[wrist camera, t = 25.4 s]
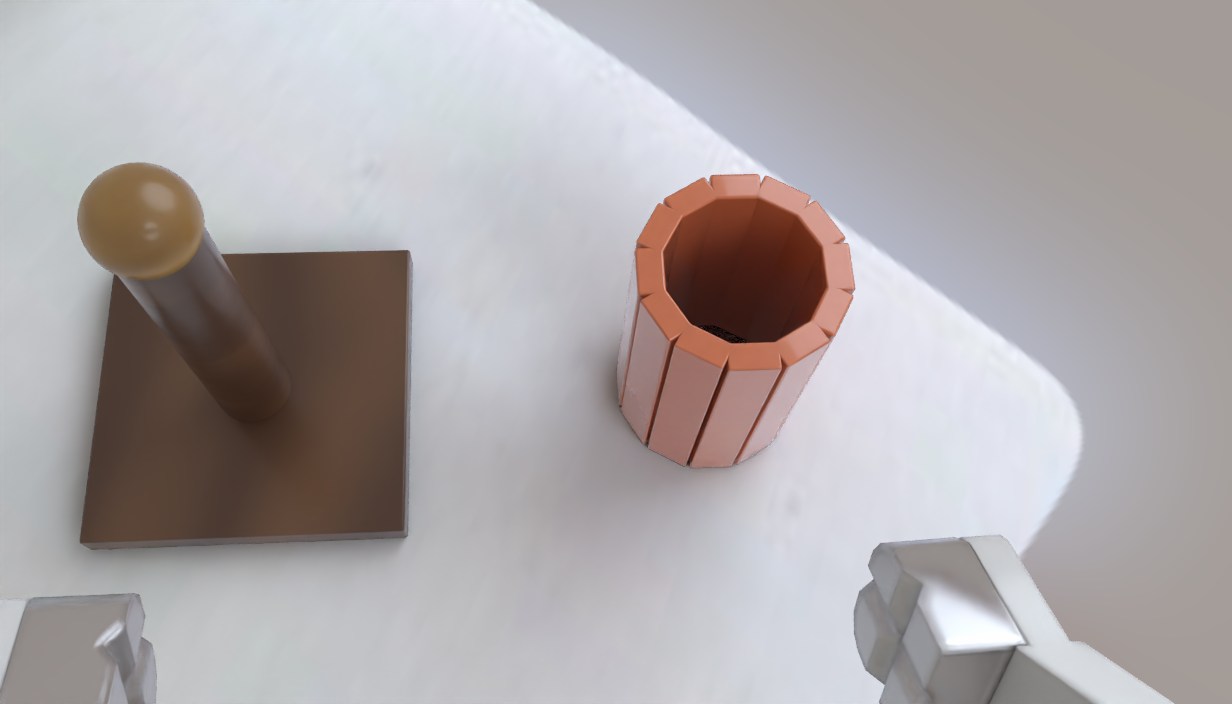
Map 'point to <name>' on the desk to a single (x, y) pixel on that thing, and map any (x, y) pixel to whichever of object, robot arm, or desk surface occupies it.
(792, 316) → the orange slatted tube
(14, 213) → the desk surface
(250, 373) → the holder
